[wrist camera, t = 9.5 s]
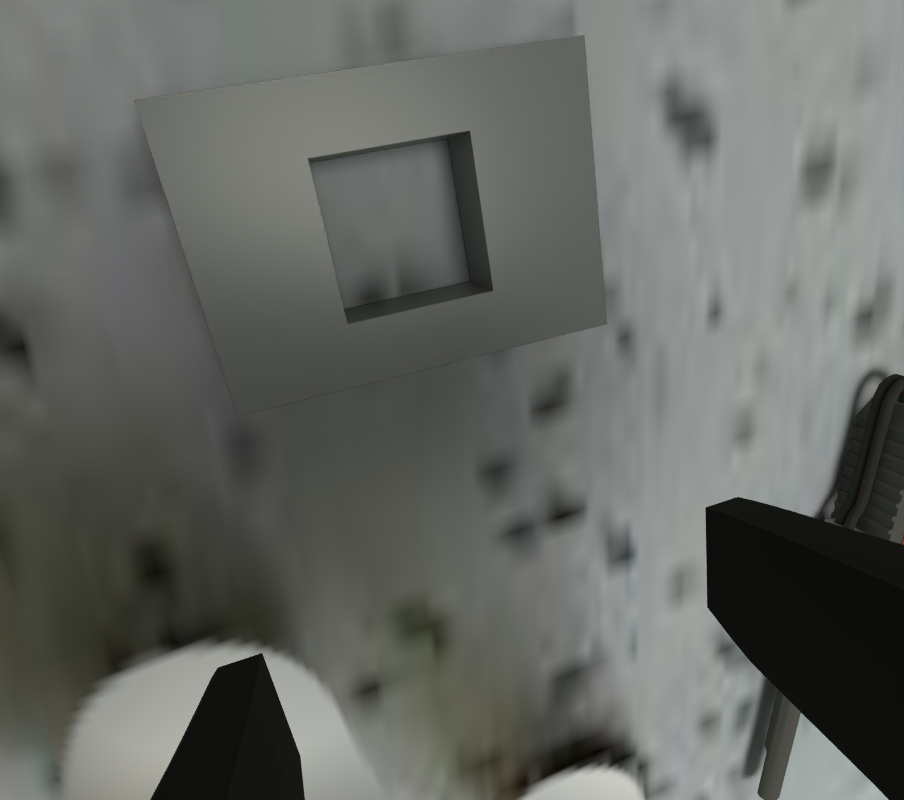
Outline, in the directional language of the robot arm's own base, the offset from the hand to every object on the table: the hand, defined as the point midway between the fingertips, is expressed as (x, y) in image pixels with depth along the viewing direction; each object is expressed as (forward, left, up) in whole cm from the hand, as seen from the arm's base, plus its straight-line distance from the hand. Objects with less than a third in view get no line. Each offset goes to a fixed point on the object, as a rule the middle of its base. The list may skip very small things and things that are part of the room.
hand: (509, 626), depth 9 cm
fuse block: (+1, +6, -9) cm, 11 cm away
